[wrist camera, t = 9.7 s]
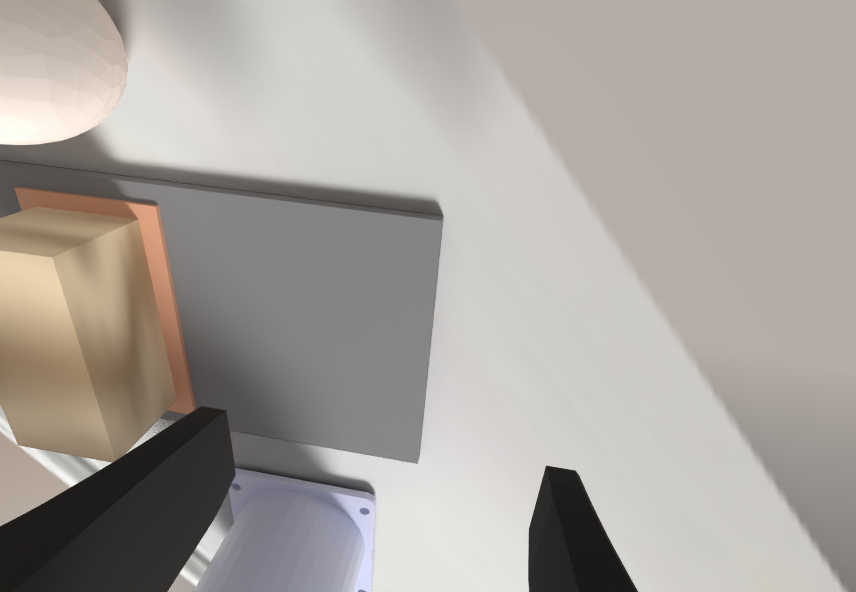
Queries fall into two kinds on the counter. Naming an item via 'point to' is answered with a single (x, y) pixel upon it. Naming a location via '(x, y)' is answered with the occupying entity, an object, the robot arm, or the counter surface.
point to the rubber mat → (289, 306)
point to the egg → (57, 69)
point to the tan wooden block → (79, 333)
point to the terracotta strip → (157, 267)
